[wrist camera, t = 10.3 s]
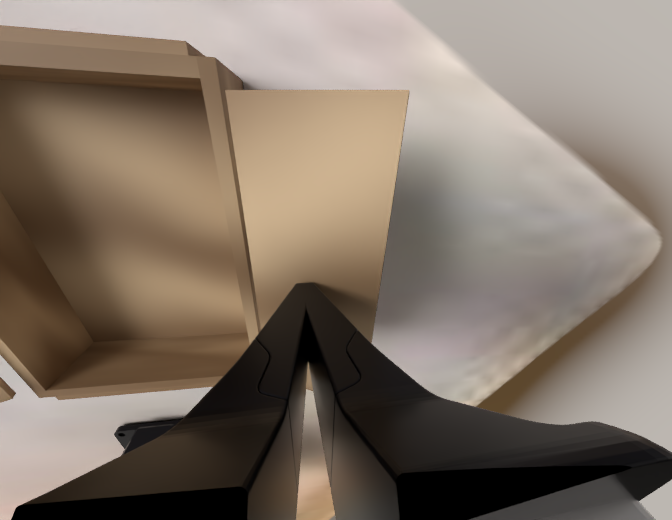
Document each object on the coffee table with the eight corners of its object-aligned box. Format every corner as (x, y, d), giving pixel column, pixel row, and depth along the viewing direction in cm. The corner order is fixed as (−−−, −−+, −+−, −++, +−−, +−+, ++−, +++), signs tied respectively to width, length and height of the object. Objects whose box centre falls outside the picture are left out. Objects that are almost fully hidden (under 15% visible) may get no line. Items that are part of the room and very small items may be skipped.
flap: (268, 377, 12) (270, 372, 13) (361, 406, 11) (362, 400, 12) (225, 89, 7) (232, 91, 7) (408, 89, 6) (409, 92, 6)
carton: (274, 335, 16) (267, 381, 13) (95, 346, 15) (42, 401, 12) (243, 71, 10) (216, 44, 7) (-91, 46, 8) (-324, -3, 5)
